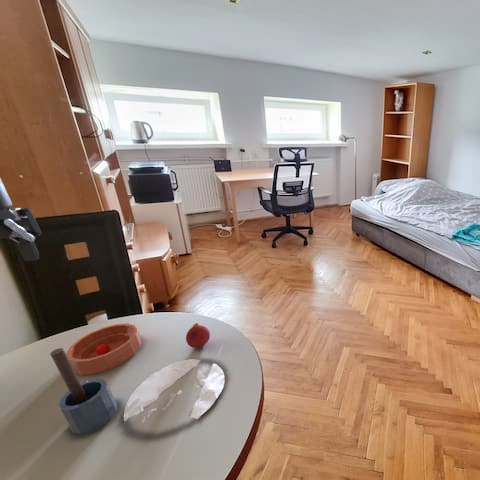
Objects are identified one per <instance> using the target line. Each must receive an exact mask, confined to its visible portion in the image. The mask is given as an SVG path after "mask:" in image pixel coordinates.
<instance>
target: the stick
mask: <svg viewBox="0 0 480 480" xmlns="http://www.w3.org/2000/svg"><path fill="white" fill-rule="evenodd" d="M66 353H67V352H66V351H65V349H64V348H63V347H59V348H55V349H54V350H52V351H51V352H50V353H49V355H50V357H51V359H52V361H53V362H54V365H55V366H56V369H57V370H58V372H59V374H60V376H61V378H62V380H63V382H64V383H65V385H66V387H67V389H68V391H70V393H71V395H72V397H73V399H74V401H75V403H76V405H78V404H81V403H83V402H85V401H88V398H87V396H86V394H85V392H84V390H83V388H82V386H81V382H80V379H79V378H78V376H77V373H75V371H74V369H73V367H72V365H71V363H70V361H69V359H68V357H67V355H66Z"/></svg>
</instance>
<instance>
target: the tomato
mask: <svg viewBox="0 0 480 480" xmlns="http://www.w3.org/2000/svg"><path fill="white" fill-rule="evenodd" d="M109 350H110V347H109V345H107V344H102V345H100V346H98V347H97V349H96V353H97V354H99V355H104V354H106V353H107V352H108V351H109Z"/></svg>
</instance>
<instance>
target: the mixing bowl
mask: <svg viewBox="0 0 480 480" xmlns="http://www.w3.org/2000/svg"><path fill="white" fill-rule="evenodd" d="M142 342H143V340H142V337H141V335H140V332H139V329H138V328H137V327H136V325H135V324H132V323H116V324H112V325H107V326H104V327H101V328H99V329H96V330H93V331H92V332H88V334H85V335H84V336H82V337H80V338H79V339H77V340H76V341H75V342H74V343H73V344H72V345H70V346H69V348H68V350H67V352H65V353H66V355H67V357H68V359H69V361H70V363H71V365H72V367H73V369H74V371H75V373H76V375H78V374H79V375H81V376H87V375H88V376H89V375H96V374H101V373H103V372H107V371H110V370H112V369H114V368H115V367H118V366H119V365H122V364H124V363H125V362H126V361H128V360H130V359H131V358H132V357H133V356H135V355H136V353H137V352H138V351H139V350H140V349H141V347H142ZM102 344H107V345H109V347H110V350H109V351H108V352H107V353H106V354H104V355H99V354H97V353H96V349H97V347H98V346H100V345H102Z"/></svg>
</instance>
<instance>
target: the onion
mask: <svg viewBox="0 0 480 480" xmlns="http://www.w3.org/2000/svg"><path fill="white" fill-rule="evenodd" d="M185 335H186V336H185V341H186V343H187V345H188V346H189V347H190V348H192V349H200V348H202V347H204V346H205V345H206V344H207V343H208V342H209V340H210V336H211V332H210V330H209V328H207V327H206V326H204V325H201V324H199V323H198V322H195V323H193V325H192V327H190V328H189V330H188V331H187V333H186V334H185Z"/></svg>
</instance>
